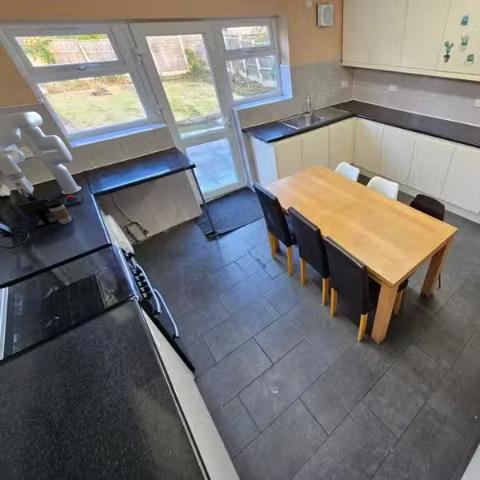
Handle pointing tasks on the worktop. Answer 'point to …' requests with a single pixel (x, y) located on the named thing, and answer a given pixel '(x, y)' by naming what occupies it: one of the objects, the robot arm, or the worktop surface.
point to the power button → (70, 196)
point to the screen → (34, 206)
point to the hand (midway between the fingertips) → (35, 202)
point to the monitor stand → (45, 218)
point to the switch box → (73, 201)
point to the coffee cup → (59, 211)
